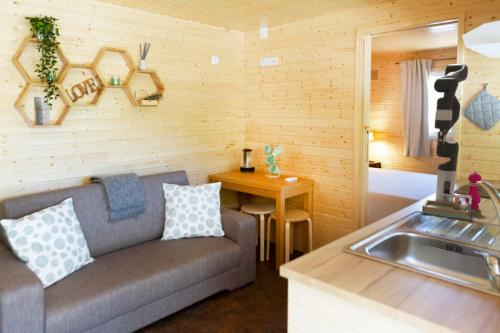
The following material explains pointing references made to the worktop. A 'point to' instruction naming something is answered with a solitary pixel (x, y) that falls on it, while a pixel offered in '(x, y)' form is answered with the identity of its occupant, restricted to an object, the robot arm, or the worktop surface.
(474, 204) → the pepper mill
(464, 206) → the ball
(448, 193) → the grey brown angular piece
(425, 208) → the tray
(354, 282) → the worktop surface
